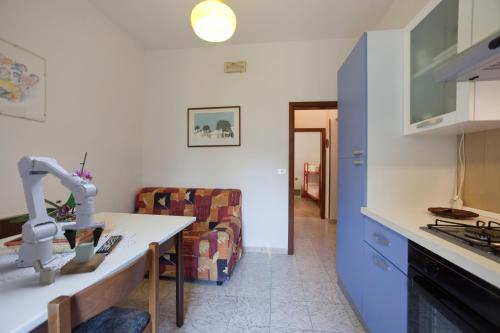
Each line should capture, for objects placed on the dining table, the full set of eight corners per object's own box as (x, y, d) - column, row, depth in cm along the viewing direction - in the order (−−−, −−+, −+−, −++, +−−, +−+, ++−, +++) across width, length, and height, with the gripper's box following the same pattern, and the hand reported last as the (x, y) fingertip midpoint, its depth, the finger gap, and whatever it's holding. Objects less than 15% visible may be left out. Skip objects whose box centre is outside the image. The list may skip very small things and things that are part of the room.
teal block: (75, 263, 81) (75, 247, 81) (81, 257, 86) (81, 243, 86) (88, 261, 83) (89, 246, 83) (94, 256, 87) (94, 242, 87)
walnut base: (59, 276, 77) (59, 268, 77) (74, 263, 87) (74, 256, 87) (94, 272, 80) (94, 264, 80) (105, 260, 91) (105, 253, 91)
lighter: (55, 281, 72) (55, 258, 72) (50, 284, 71) (50, 261, 71) (36, 280, 73) (36, 258, 73) (30, 283, 71) (31, 260, 71)
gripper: (57, 217, 78) (56, 253, 78) (102, 215, 82) (101, 249, 82) (67, 212, 84) (66, 246, 85) (108, 211, 89) (108, 242, 89)
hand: (84, 247), depth 84 cm, fingers open, 7 cm apart
